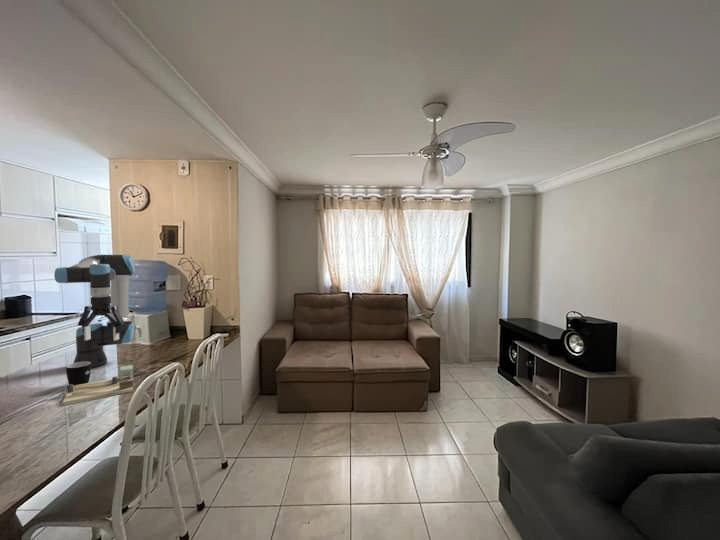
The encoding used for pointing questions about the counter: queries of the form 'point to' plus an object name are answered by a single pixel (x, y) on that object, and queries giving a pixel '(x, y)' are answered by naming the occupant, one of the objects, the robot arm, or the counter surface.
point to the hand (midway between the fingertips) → (102, 339)
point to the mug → (78, 373)
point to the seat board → (97, 390)
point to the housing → (126, 369)
